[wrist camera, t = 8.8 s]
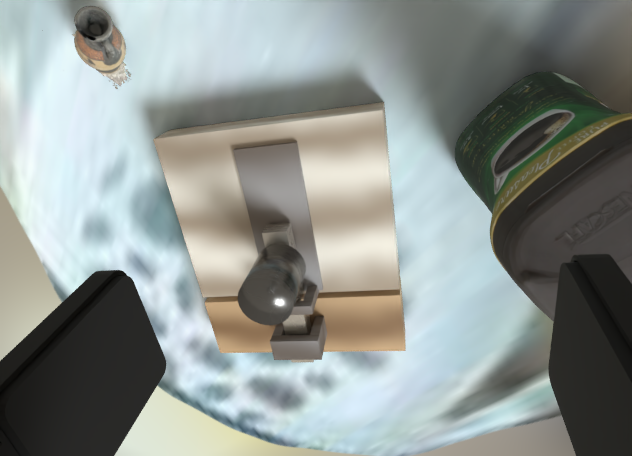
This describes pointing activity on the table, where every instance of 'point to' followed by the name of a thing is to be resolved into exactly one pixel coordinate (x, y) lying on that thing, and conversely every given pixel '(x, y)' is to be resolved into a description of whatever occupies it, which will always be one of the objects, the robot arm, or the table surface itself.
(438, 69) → the table surface
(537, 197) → the coffee jar
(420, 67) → the table surface
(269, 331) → the lock board
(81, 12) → the vase
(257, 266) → the dark metal knob
